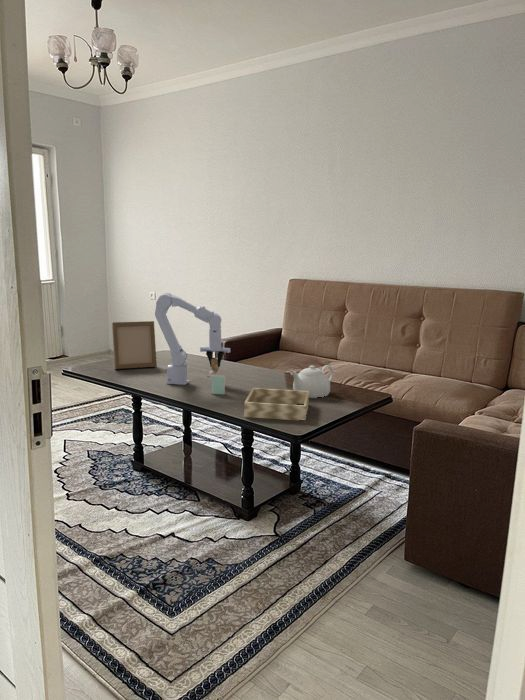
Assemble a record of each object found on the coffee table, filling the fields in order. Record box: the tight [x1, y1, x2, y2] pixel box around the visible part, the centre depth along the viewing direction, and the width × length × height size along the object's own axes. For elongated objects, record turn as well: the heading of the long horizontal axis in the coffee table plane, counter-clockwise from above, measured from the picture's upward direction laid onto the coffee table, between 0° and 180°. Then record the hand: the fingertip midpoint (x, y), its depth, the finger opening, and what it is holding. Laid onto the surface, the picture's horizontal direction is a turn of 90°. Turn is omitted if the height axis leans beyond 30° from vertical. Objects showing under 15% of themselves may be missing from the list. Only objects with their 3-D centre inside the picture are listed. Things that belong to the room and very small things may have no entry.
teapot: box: [290, 364, 335, 399], centre depth 251 cm, size 19×18×14 cm
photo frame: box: [111, 320, 158, 370], centre depth 296 cm, size 15×22×25 cm
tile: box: [210, 374, 226, 395], centre depth 248 cm, size 6×2×8 cm, turn 82°
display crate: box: [243, 387, 310, 421], centre depth 225 cm, size 24×22×6 cm
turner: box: [206, 357, 220, 378], centre depth 259 cm, size 3×13×6 cm, turn 173°
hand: (215, 366), depth 264 cm, fingers closed on turner, 3 cm apart
